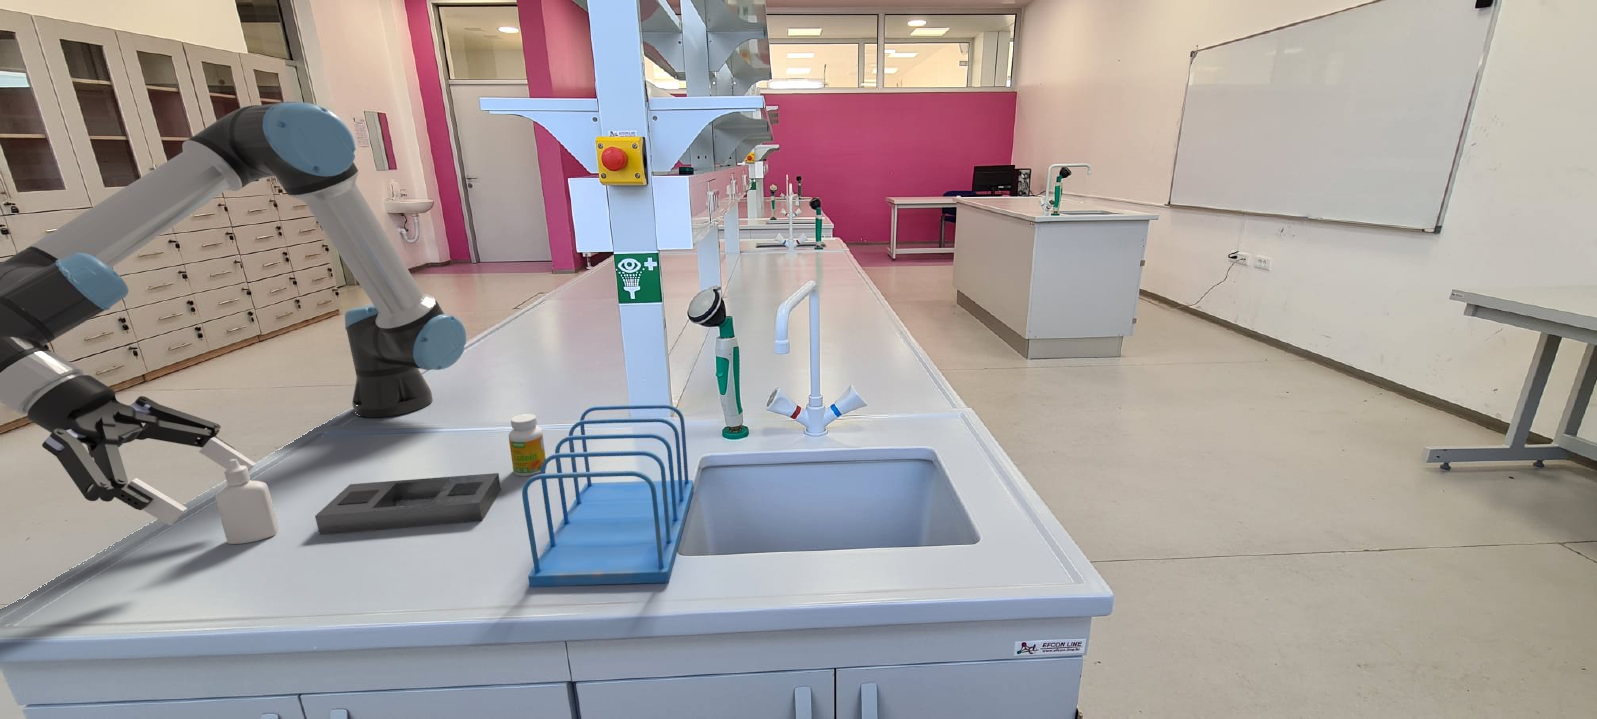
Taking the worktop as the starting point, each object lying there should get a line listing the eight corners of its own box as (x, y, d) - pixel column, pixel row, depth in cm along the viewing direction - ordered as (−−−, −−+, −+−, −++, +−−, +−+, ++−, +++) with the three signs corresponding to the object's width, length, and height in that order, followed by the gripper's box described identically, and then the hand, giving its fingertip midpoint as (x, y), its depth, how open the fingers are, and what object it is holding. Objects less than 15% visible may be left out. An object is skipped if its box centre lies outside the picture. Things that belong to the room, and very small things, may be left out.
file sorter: (586, 493, 105) (576, 403, 100) (694, 491, 105) (689, 401, 101) (528, 588, 80) (512, 475, 76) (668, 585, 81) (660, 472, 77)
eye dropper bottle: (249, 528, 95) (228, 452, 91) (285, 529, 94) (265, 453, 91) (221, 544, 90) (198, 466, 87) (259, 546, 90) (237, 467, 87)
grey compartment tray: (354, 501, 102) (350, 483, 101) (501, 489, 106) (498, 472, 105) (319, 534, 93) (314, 515, 92) (482, 520, 96) (479, 502, 95)
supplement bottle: (511, 478, 109) (503, 425, 107) (515, 465, 114) (508, 414, 112) (545, 474, 111) (538, 421, 108) (548, 461, 116) (541, 410, 113)
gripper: (121, 385, 95) (258, 472, 101) (-71, 454, 71) (123, 562, 78) (152, 349, 94) (288, 438, 101) (-31, 406, 71) (161, 518, 77)
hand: (216, 492), depth 89 cm, fingers open, 13 cm apart
